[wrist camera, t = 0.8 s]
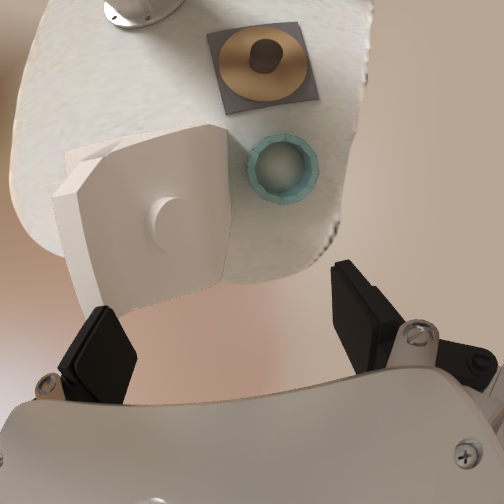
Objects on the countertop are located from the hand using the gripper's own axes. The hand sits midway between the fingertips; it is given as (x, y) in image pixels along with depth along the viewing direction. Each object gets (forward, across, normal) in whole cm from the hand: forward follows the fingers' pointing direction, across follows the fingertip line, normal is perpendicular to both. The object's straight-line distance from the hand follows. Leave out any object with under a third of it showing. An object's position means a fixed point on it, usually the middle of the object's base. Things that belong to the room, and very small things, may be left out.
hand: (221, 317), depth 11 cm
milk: (+26, +5, -3) cm, 27 cm away
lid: (+26, -7, -16) cm, 31 cm away
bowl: (+26, -7, -2) cm, 27 cm away
